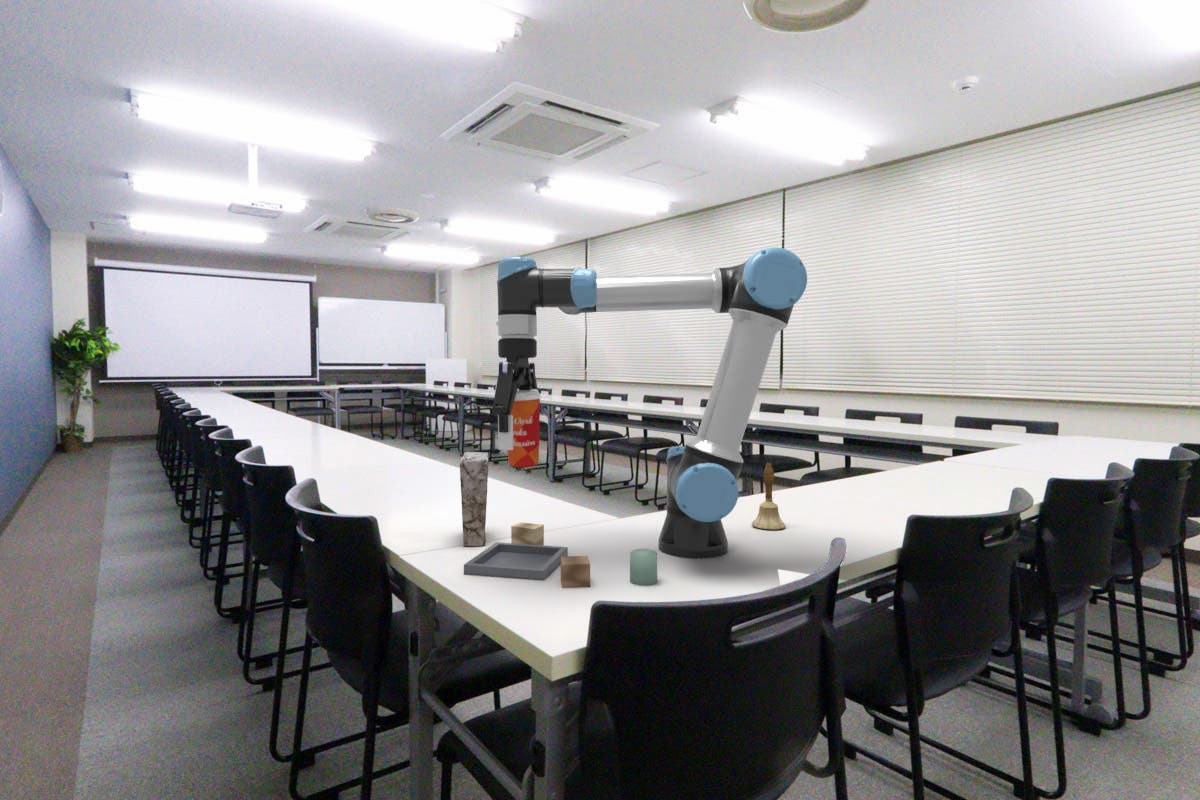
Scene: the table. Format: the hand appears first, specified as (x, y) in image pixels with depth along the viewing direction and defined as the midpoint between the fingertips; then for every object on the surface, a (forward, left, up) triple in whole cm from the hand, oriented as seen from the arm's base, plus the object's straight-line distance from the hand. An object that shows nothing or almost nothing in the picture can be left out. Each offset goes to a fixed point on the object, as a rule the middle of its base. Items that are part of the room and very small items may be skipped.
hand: (518, 445), depth 125 cm
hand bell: (-50, -47, -25) cm, 73 cm away
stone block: (+17, -17, -25) cm, 35 cm away
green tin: (-26, +4, -25) cm, 36 cm away
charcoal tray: (0, 0, -24) cm, 24 cm away
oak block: (+3, -14, -25) cm, 28 cm away
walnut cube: (-14, +8, -25) cm, 29 cm away
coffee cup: (0, -3, -4) cm, 6 cm away
